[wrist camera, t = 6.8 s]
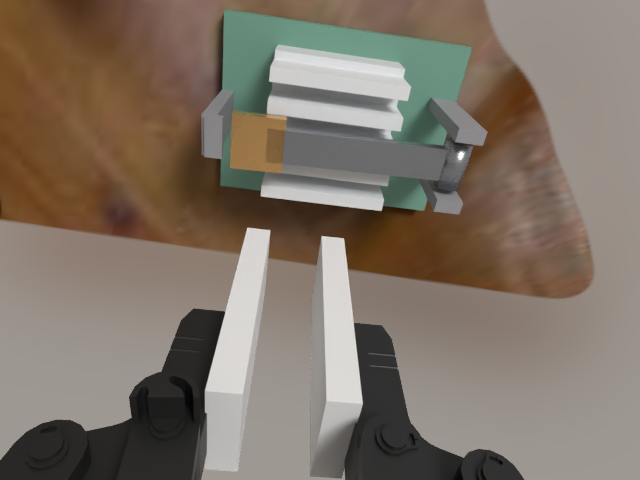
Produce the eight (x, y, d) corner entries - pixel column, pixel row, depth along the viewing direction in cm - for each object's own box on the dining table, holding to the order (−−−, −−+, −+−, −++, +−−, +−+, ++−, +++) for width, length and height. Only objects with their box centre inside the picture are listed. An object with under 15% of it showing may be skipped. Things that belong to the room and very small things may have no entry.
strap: (232, 160, 26) (229, 171, 25) (234, 108, 25) (230, 115, 23) (453, 184, 28) (461, 195, 27) (469, 136, 26) (478, 145, 25)
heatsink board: (222, 180, 34) (199, 232, 27) (226, 9, 28) (197, 20, 21) (421, 205, 35) (446, 260, 28) (467, 46, 29) (513, 67, 22)
